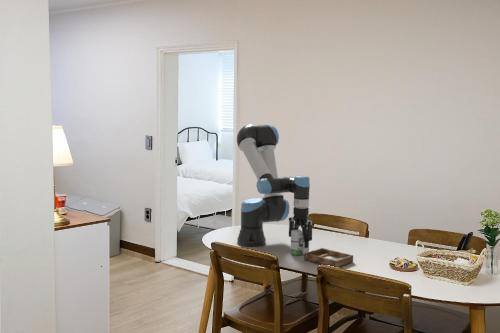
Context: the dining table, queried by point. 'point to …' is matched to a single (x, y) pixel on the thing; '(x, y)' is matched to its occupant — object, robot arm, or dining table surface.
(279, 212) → the robot arm
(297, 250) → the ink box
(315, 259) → the walled box
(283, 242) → the dining table surface
